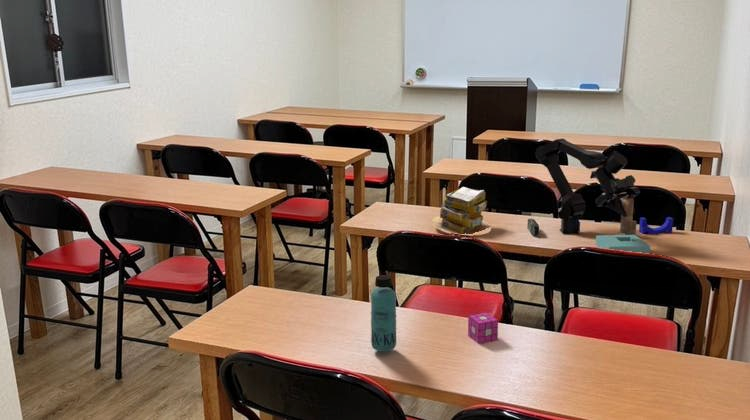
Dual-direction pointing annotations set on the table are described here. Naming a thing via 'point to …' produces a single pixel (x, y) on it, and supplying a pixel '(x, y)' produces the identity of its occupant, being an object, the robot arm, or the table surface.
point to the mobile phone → (533, 227)
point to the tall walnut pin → (627, 221)
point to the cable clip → (654, 231)
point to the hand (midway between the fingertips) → (630, 215)
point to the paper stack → (462, 212)
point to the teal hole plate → (622, 243)
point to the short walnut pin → (632, 229)
